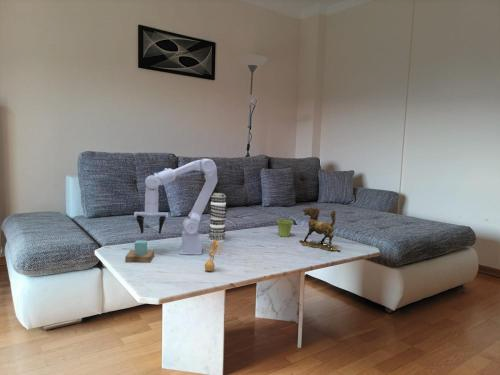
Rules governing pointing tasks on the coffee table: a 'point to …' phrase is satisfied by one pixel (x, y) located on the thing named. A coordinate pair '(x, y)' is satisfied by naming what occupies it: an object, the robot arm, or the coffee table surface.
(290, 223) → the plant pot
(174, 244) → the coffee table surface
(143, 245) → the teal block
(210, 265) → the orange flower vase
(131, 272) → the coffee table surface
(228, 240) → the coffee table surface
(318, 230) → the figurine
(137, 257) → the walnut block
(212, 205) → the decorative candle
